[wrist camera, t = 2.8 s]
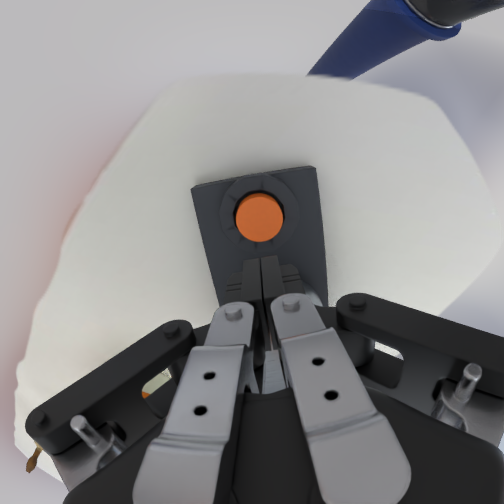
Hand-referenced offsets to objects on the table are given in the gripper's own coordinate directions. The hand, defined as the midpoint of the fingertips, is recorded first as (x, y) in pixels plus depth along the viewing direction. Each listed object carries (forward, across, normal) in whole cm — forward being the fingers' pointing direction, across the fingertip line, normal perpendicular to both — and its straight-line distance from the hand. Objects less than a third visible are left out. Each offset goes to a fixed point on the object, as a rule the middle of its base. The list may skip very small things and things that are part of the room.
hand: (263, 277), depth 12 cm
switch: (+11, 0, 0) cm, 11 cm away
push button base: (+15, 0, +5) cm, 16 cm away
